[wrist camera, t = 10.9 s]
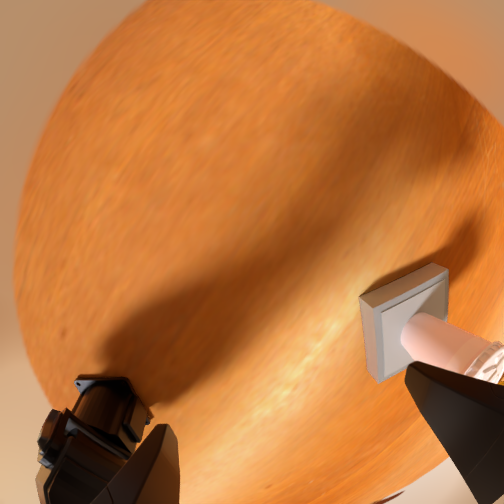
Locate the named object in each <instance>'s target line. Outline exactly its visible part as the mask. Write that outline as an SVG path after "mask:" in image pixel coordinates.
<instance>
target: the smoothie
mask: <svg viewBox="0 0 504 504" xmlns="http://www.w3.org/2000/svg"><path fill="white" fill-rule="evenodd" d="M401 344H402V345H403V346H404V348H405V349H406V350H407V352H408V353H409V354H410V356H411V357H412V358H413V359H414V361H421V362H424V363H427V364H430V365H433V366H436V367H440V368H443V369H446V370H449V371H453V372H456V373H459V374H463V375H466V376H470V377H473V378H477V379H481V380H484V381H488V382H492V383H495V384H497V383H498V382H499V380H500V378H501V376H502V374H503V372H504V345H502V343H501V342H499V341H496V342H493V343H491V342H489V341H487V340H485V339H483V338H481V337H478V336H476V335H474V334H472V333H470V332H467V331H465V330H463V329H461V328H459V327H456V326H454V325H452V324H450V323H447V322H445V321H443V320H441V319H438V318H436V317H434V316H432V315H429V314H427V313H425V312H420V313H417V314H415V315H414V316H412V317H411V318H410V319H409V320H408V322H407V323H406V324H405V326H404V328H403V330H402V333H401Z"/></svg>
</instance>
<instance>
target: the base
mask: <svg viewBox="0 0 504 504" xmlns="http://www.w3.org/2000/svg"><path fill="white" fill-rule="evenodd" d="M448 292H449V269H447V268H445V267H442V266H440V265H437V264H435V263H433V262H432V263H430V264H428V265H426V266H424V267H422V268H420V269H418V270H416V271H414V272H412V273H410V274H408V275H406V276H404V277H401V278H399V279H397V280H395V281H393V282H391V283H389V284H387V285H384V286H382V287H380V288H378V289H376V290H373V291H371V292H369V293H367V294H364V295H362V296H360V297H359V302H360V309H361V316H362V324H363V332H364V341H365V350H366V361H367V370H368V372H369V373H370V374H371V375H372V377H373V378H374V379H375V380H376V382H377V383H378V384H379V383H381V382H383V381H384V380H386V379H388V378H390V377H392V376H394V375H396V374H397V373H399V372H401V371H403V370H404V369H406V368H407V366H408V364H410V363H412V362H414V359H413V358H412V357H411V356H410V354H409V353H408V352H407V350H406V349H405V348H404V346H403V345H402V344H401V333H402V330H403V328H404V326H405V324H406V323H407V322H408V320H409V319H410V318H411V317H412V316H414V315H415V314H417V313H420V312H425V313H427V314H429V315H432V316H434V317H436V318H438V319H441V320H443V321H445V322H447V316H448Z"/></svg>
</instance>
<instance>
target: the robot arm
mask: <svg viewBox="0 0 504 504" xmlns="http://www.w3.org/2000/svg"><path fill="white" fill-rule="evenodd" d="M124 382H125V383H124ZM74 383H75V385H76V387H77V389H78V390H79V392H80V396H79V398H78V400H77V402H76V404H75V406H74V407H73V409H72V411H70V410H69V409H68V408H65V409H64V410H63V411H62V412H61V411H57V410H54V409H52V410H51V411H50V413H49V415H48V417H47V418H46V420H45V422H44V424H43V426H42V429H41V431H40V435H39V437H38V440H37V442H38V445H39V452H38V458H37V461H38V462H39V463H41V464H42V465H41V468H40V470H39V472H38V474H37V476H36V485H37V490H38V495H39V499H40V503H41V504H179V492H180V468H179V456H178V441H177V438H176V436H175V434H174V432H173V430H172V429H171V427H170V425H169V424H157V425H156V426H155V427H154V429H153V430H152V431H151V432H150V434H149V435H148V436H147V437H146V439H145V440H144V441H143V442H142V444H141V445H140V446H139V447H138V449H137V450H136V451H135V448H136V444H137V443H140V442H141V440H142V436H143V431H144V427H145V425H149V424H150V418H149V417H148V415H147V411H146V410H145V408H144V406H143V404H142V402H141V401H140V399H139V397H138V396H137V395H136V393H135V391H134V390H133V388H132V386H131V384H130V382H129V380H128V379H127V378H125V377H112V378H76V380H75V381H74ZM405 384H406V386H407V388H408V390H409V392H410V394H411V396H412V398H413V399H414V401H415V403H416V405H417V407H418V409H419V411H420V412H421V414H422V416H423V417H424V418H425V420H426V421H427V423H428V424H429V426H430V427H431V429H432V430H433V432H434V433H435V435H436V436H437V438H438V439H439V441H440V442H441V444H442V445H443V447H444V448H445V450H446V452H447V453H448V455H449V456H450V458H451V459H452V461H453V462H454V464H455V466H456V467H457V469H458V470H459V472H460V474H461V475H462V477H463V479H464V480H465V482H466V484H467V485H468V487H469V488H470V490H471V492H472V494H473V495H474V497H475V499H476V500H477V502H478V504H493V503H494V502H495V501H496V500H498V499H499V498H500V497H501V496H502V495H503V494H504V385H500V384H495V383H492V382H488V381H484V380H481V379H477V378H473V377H470V376H466V375H463V374H459V373H456V372H453V371H449V370H446V369H443V368H440V367H436V366H433V365H430V364H427V363H424V362H421V361H414V362H412V363H410V364H408V366H407V370H406V375H405Z"/></svg>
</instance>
